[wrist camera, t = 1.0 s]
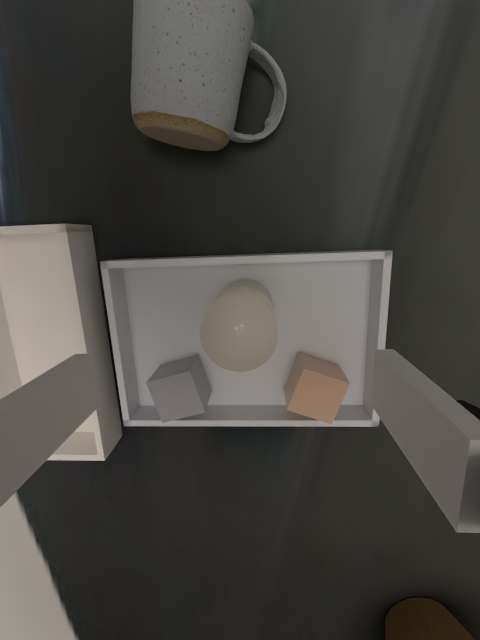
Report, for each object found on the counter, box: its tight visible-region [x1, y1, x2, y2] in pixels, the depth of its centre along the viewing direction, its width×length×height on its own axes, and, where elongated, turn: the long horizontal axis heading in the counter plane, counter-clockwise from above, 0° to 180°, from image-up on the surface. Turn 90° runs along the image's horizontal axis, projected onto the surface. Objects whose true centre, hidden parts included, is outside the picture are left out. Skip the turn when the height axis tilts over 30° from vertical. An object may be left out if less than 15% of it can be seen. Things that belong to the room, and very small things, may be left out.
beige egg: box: [200, 279, 278, 372], centre depth 25 cm, size 5×5×9 cm
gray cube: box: [146, 354, 212, 423], centre depth 29 cm, size 4×4×4 cm
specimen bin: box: [0, 224, 123, 461], centre depth 29 cm, size 21×10×4 cm, turn 2°
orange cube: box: [284, 351, 350, 424], centre depth 28 cm, size 4×4×4 cm
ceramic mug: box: [131, 0, 287, 151], centre depth 22 cm, size 11×8×8 cm
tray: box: [100, 249, 393, 427], centre depth 29 cm, size 15×23×3 cm, turn 92°
